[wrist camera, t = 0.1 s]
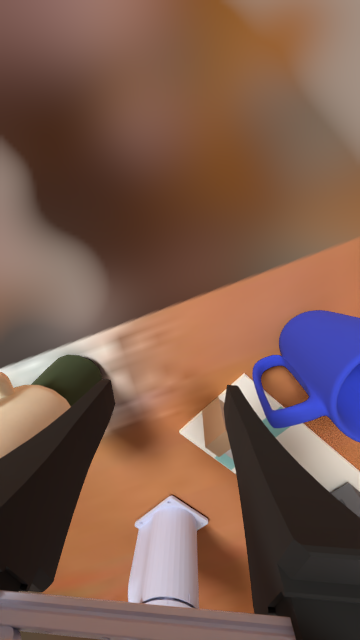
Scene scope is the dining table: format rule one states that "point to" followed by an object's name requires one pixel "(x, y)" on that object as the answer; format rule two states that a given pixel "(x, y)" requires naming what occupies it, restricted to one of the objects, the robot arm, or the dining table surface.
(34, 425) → the character mug
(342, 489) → the collar
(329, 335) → the mug
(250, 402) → the linear rail slide
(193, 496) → the dining table surface
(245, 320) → the dining table surface
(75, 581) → the dining table surface
